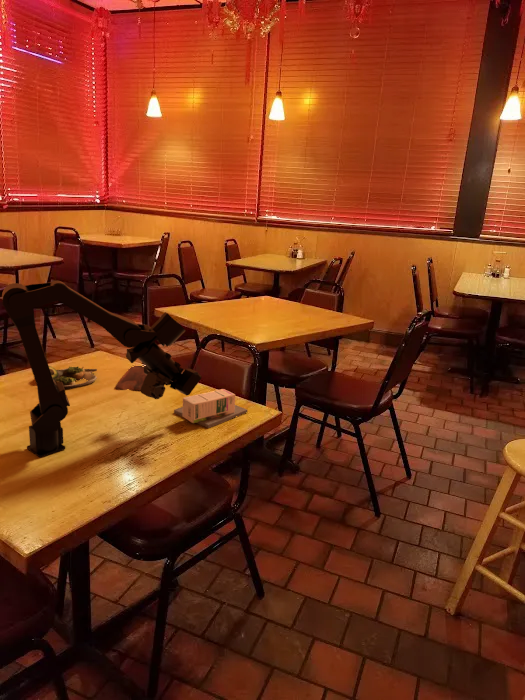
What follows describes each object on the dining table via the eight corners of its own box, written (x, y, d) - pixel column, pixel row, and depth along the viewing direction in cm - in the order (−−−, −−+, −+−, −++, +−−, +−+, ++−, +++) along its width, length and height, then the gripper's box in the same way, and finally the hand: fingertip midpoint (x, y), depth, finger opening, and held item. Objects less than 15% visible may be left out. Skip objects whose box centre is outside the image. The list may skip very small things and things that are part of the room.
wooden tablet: (131, 361, 186) (158, 360, 186) (132, 367, 187) (159, 366, 187) (113, 387, 161) (145, 385, 161) (114, 394, 161) (145, 392, 161)
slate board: (208, 428, 138) (208, 424, 138) (173, 412, 147) (174, 409, 146) (247, 412, 150) (247, 409, 150) (213, 399, 159) (213, 396, 158)
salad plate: (86, 368, 180) (86, 355, 179) (110, 382, 168) (110, 369, 167) (29, 377, 167) (29, 364, 166) (51, 394, 155) (51, 379, 154)
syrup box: (193, 404, 136) (236, 394, 145) (181, 397, 141) (224, 388, 150) (192, 423, 138) (235, 413, 147) (181, 416, 142) (223, 406, 151)
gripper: (115, 373, 132) (151, 404, 142) (155, 395, 119) (192, 427, 130) (142, 340, 135) (175, 372, 146) (184, 357, 122) (217, 391, 133)
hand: (189, 390), depth 138 cm, fingers closed
